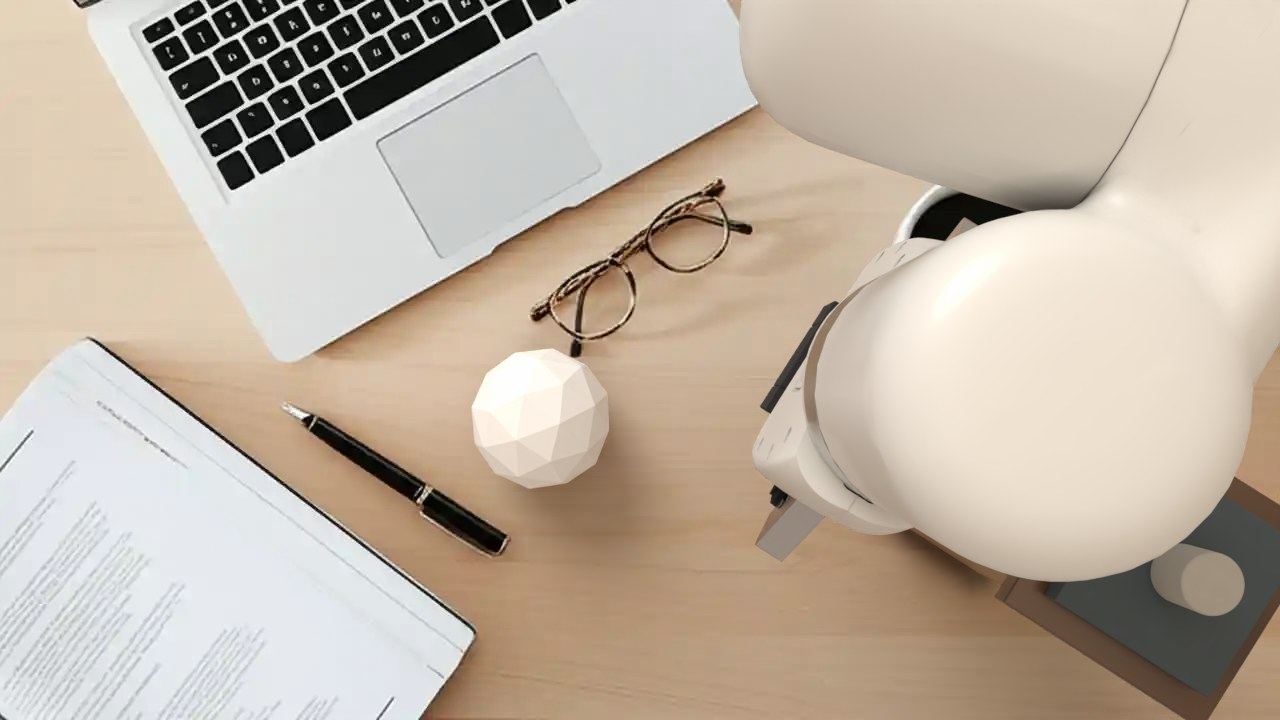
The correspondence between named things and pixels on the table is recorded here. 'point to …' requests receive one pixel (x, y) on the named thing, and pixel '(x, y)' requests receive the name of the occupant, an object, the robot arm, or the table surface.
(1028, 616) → the stand
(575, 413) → the geometric ball
